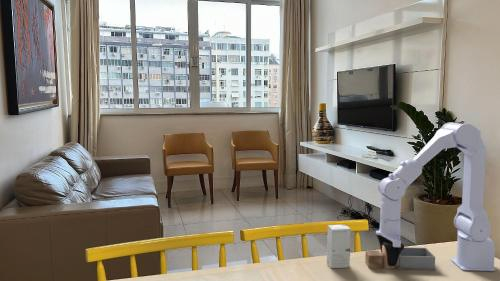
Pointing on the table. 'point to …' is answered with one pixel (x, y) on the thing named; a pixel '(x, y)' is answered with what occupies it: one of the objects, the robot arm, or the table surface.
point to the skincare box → (338, 246)
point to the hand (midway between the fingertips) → (388, 261)
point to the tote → (416, 259)
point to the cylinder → (385, 259)
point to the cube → (373, 259)
